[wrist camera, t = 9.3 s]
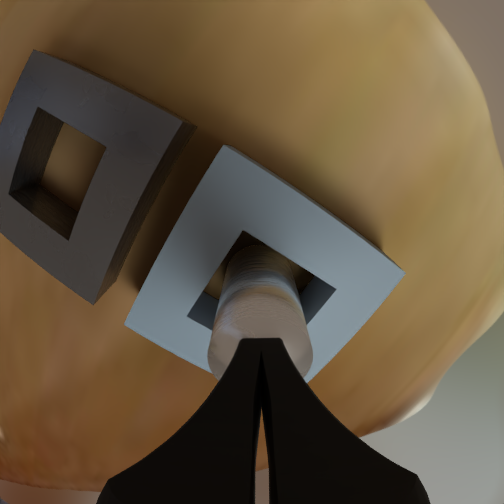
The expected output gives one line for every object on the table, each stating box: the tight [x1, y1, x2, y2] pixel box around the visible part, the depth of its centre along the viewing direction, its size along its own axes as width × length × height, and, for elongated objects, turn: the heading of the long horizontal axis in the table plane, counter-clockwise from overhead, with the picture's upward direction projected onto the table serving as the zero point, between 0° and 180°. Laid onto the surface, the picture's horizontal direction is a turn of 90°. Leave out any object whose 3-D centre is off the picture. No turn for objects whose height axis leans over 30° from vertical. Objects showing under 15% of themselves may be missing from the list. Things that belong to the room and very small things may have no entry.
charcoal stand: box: [0, 50, 197, 305], centre depth 13 cm, size 10×10×3 cm
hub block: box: [124, 145, 406, 383], centre depth 15 cm, size 10×10×3 cm
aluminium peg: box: [207, 245, 313, 381], centre depth 13 cm, size 4×4×7 cm
